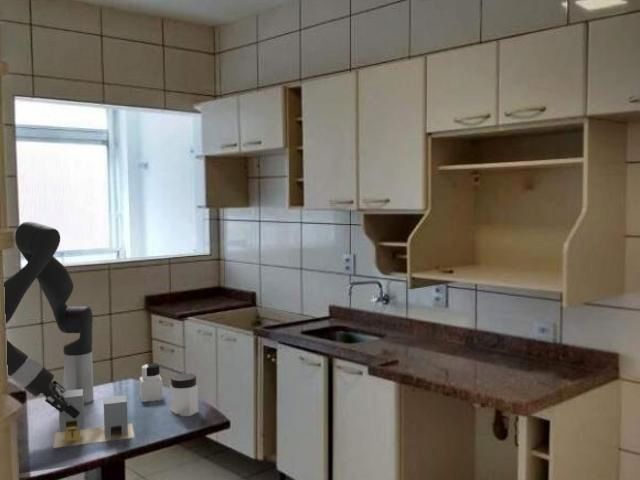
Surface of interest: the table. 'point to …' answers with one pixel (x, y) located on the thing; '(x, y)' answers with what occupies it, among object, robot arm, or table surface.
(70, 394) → the cube cover
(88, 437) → the birch board
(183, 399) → the jar
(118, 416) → the empty cover
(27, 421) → the table surface
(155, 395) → the medicine bottle
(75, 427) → the letter cube
